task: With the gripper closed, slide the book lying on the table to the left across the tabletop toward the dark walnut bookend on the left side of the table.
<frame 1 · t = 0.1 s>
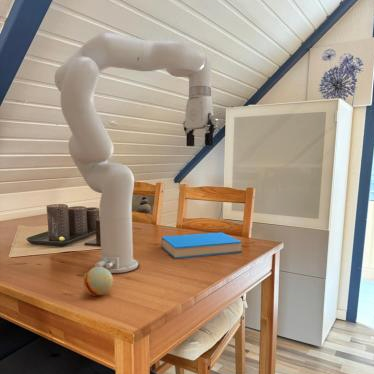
hand: (199, 145, 121), 37 cm above the table, tool pointing down, fingers open, 9 cm apart
book: (200, 249, 128), on the table
ball: (98, 295, 86), on the table
bookend: (110, 242, 139), on the table
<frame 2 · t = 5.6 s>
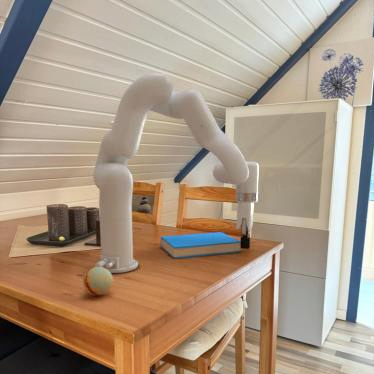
hand: (245, 248, 126), 1 cm above the table, tool pointing down, fingers closed
book: (199, 249, 129), on the table, touching gripper
everything else where it was.
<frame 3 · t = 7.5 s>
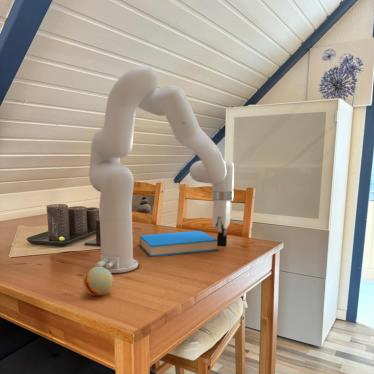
hand: (221, 245, 128), 1 cm above the table, tool pointing down, fingers closed
book: (177, 248, 131), on the table, touching gripper
everything else where it was.
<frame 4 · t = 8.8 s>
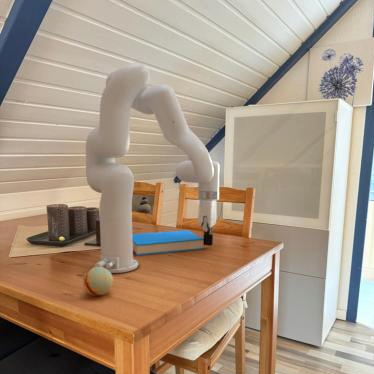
hand: (208, 244, 130), 1 cm above the table, tool pointing down, fingers closed
book: (164, 247, 132), on the table, touching gripper
everything else where it was.
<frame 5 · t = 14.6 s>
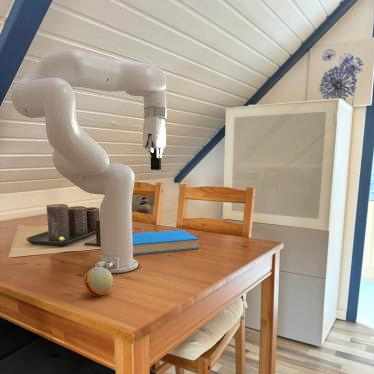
hand: (155, 169, 120), 29 cm above the table, tool pointing down, fingers closed
book: (159, 246, 132), on the table
everything else where it was.
at the end: book inside the target area (2.7 cm from its centre), on the table; book moved 15.8 cm from its start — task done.
